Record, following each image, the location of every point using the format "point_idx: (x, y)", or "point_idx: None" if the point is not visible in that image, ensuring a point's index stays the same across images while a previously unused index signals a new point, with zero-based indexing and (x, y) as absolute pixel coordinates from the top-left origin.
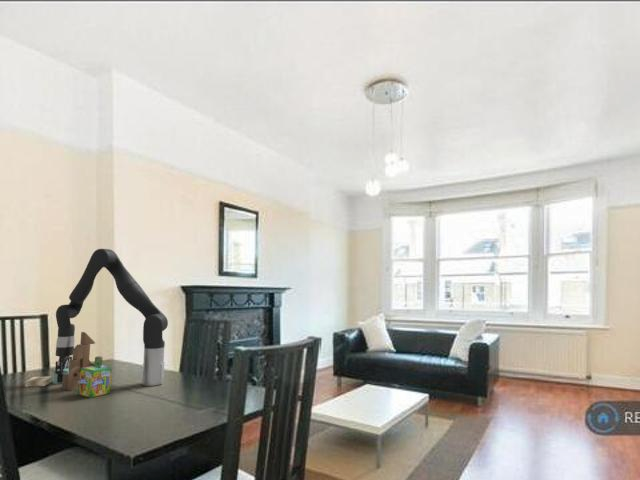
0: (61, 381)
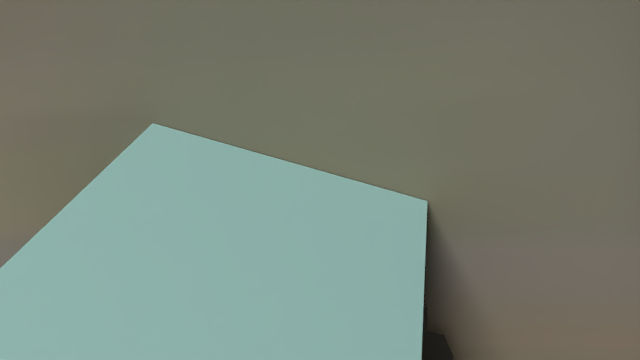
0: (423, 320)
